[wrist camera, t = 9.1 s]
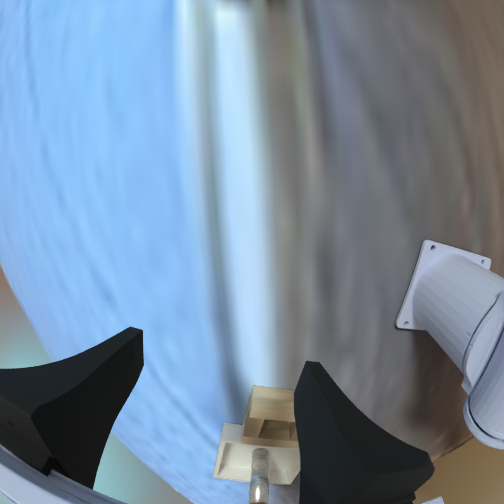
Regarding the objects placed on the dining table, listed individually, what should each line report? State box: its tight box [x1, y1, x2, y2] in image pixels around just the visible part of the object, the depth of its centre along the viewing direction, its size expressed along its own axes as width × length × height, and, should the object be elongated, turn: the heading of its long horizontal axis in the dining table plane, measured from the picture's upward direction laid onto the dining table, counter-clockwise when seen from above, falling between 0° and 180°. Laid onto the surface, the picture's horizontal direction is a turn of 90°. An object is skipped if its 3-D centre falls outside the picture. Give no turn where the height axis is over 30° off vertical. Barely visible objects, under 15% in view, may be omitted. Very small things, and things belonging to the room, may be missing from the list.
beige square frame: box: [241, 385, 299, 448], centre depth 24 cm, size 6×6×3 cm
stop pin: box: [249, 448, 269, 504], centre depth 23 cm, size 2×2×9 cm
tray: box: [213, 422, 300, 484], centre depth 26 cm, size 10×10×2 cm
